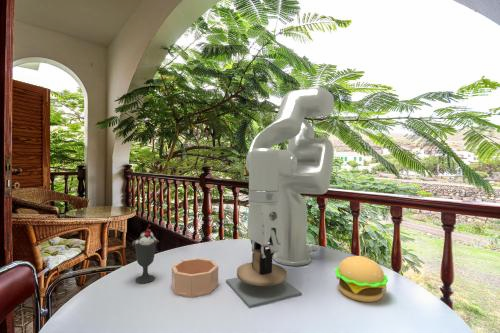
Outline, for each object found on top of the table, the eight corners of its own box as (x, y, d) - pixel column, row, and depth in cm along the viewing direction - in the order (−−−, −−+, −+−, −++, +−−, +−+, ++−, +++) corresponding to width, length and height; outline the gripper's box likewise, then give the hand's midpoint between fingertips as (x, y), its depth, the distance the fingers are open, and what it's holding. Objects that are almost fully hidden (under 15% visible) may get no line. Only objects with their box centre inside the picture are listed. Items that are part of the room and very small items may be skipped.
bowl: (209, 274, 73) (209, 256, 73) (222, 291, 64) (223, 270, 64) (168, 281, 69) (169, 262, 69) (176, 300, 59) (177, 278, 59)
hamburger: (352, 308, 57) (352, 268, 57) (325, 283, 69) (326, 251, 69) (399, 303, 59) (400, 265, 59) (366, 280, 71) (367, 249, 71)
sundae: (149, 286, 65) (150, 226, 65) (125, 283, 67) (126, 225, 67) (163, 275, 72) (164, 221, 72) (141, 273, 73) (142, 219, 73)
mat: (271, 273, 75) (271, 271, 75) (301, 295, 62) (301, 292, 62) (225, 281, 69) (225, 279, 69) (249, 308, 56) (249, 305, 56)
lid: (270, 263, 74) (270, 241, 74) (296, 280, 62) (297, 255, 63) (229, 269, 68) (229, 246, 68) (250, 289, 57) (251, 262, 57)
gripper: (295, 200, 60) (293, 281, 60) (260, 193, 75) (259, 258, 74) (267, 201, 56) (265, 287, 56) (236, 194, 71) (235, 261, 71)
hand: (261, 269), depth 65 cm, fingers closed on lid, 3 cm apart
